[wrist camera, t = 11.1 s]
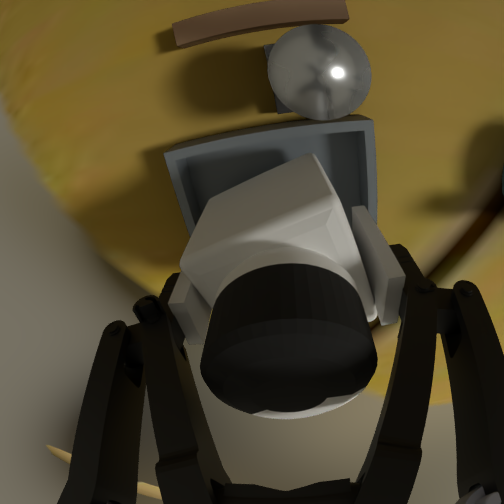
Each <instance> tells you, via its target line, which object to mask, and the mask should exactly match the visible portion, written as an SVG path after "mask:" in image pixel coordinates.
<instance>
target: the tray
mask: <svg viewBox="0 0 504 504" xmlns="http://www.w3.org/2000/svg"><path fill="white" fill-rule="evenodd" d="M307 153H313V154H315V156H316V157H317V159H318V161H319V162H320V164H321V166H322V168H323V169H324V171H325V173H326V175H327V177H328V179H329V180H330V182H331V184H332V186H333V188H334V190H335V192H336V194H337V196H338V197H339V199H340V202H341V204H342V207H343V209H344V212H345V215H346V217H347V220H348V223H349V225H350V228H351V231H352V234H353V227H352V207H354V206H363V205H364V206H365V207H366V209H367V211H368V212H369V214H370V215H371V217H372V218H373V220H374V222H375V223H376V225H377V170H376V150H375V136H374V124H373V120H372V119H370V118H367V117H365V116H363V115H348V116H344V117H341V118H338V119H333V120H314V119H306V120H298V121H290V122H283V123H276V124H270V125H264V126H258V127H252V128H247V129H241V130H236V131H231V132H226V133H221V134H217V135H212V136H208V137H203V138H199V139H195V140H191V141H187V142H183V143H179V144H176V145H174V146H173V147H172V148H170V149H169V150H167V151H166V152H165V153H163V154H164V157H165V160H166V164H167V167H168V170H169V174H170V177H171V180H172V183H173V187H174V190H175V193H176V196H177V199H178V202H179V205H180V208H181V212H182V215H183V218H184V221H185V224H186V227H187V230H188V232H189V235H190V238H191V235H192V233H193V231H194V229H195V227H196V225H197V223H198V221H199V219H200V217H201V215H202V213H203V211H204V209H205V207H206V205H207V203H208V201H209V199H210V198H212V197H214V196H216V195H218V194H220V193H222V192H224V191H226V190H228V189H230V188H232V187H234V186H237V185H239V184H241V183H243V182H245V181H247V180H249V179H251V178H253V177H255V176H258V175H260V174H262V173H264V172H266V171H268V170H271V169H273V168H275V167H277V166H280V165H282V164H284V163H286V162H289V161H291V160H293V159H295V158H298V157H300V156H302V155H305V154H307Z"/></svg>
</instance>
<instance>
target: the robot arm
mask: <svg viewBox="0 0 504 504" xmlns="http://www.w3.org/2000/svg"><path fill="white" fill-rule="evenodd" d="M352 227H353V236H354V239H355V242H356V245H357V248H358V251H359V254H360V257H361V260H362V263H363V266H364V269H365V272H366V275H367V278H368V281H369V285H370V288H371V291H372V295H373V298H374V303H375V307H376V310H377V313H378V316H379V319H380V322H381V325H386V324H392V323H397V320H398V315H399V316H400V318H401V325H400V329H399V334H398V337H397V338H398V342H397V347H396V353H395V358H394V362H393V367H392V372H391V376H390V380H389V384H388V388H387V392H386V396H385V400H384V404H383V408H382V411H381V414H380V418H379V421H378V424H377V427H376V431H375V434H374V437H373V440H372V442H371V445H370V449H369V451H368V454H367V457H366V459H365V462H364V464H363V466H362V468H361V471H360V473H359V475H358V478H357V480H356V482H355V483H353V482H352V483H351V482H350V478H348V479H340V480H333V481H325V482H318V483H314V484H311V485H308V486H305V487H301V488H297V489H294V490H290V491H281V490H276V489H272V488H267V487H263V486H259V485H255V484H232V482H231V480H230V478H229V477H228V475H227V474H226V472H225V470H224V468H223V466H222V463H221V461H220V458H219V455H218V453H217V450H216V447H215V444H214V441H213V438H212V435H211V432H210V429H209V426H208V423H207V420H206V417H205V414H204V411H203V408H202V405H201V401H200V398H199V395H198V391H197V388H196V385H195V381H194V378H193V374H192V371H191V367H190V364H189V360H188V356H187V352H186V349H185V347H184V345H183V342H184V339H185V338H186V340H187V342H188V344H204V341H205V336H206V332H207V328H208V323H209V319H210V315H211V311H212V308H211V307H210V305H209V304H208V303H207V302H206V300H205V299H204V298H203V297H202V295H201V294H200V293H199V292H198V290H197V289H196V288H195V287H194V285H193V284H192V283H191V281H190V280H189V279H188V278H187V276H186V275H185V274H184V272H183V271H182V270H181V272H180V273H173V274H172V275H171V276H170V277H169V278H168V279H167V280H166V283H165V285H164V288H163V289H162V293H161V294H160V296H159V298H158V297H156V296H155V295H149V296H145V297H143V298H141V299H139V300H138V301H137V302H136V303H135V304H134V306H133V312H134V313H135V315H136V317H137V318H138V320H139V322H140V323H138V324H135V325H131V326H128V327H127V326H126V324H125V322H123V321H121V320H118V321H114V322H112V323H110V324H109V325H108V326H107V327H106V328H105V329H104V331H103V334H102V337H101V340H100V343H99V346H98V349H97V352H96V356H95V359H94V362H93V366H92V369H91V373H90V377H89V380H88V384H87V387H86V391H85V395H84V399H83V403H82V407H81V412H80V416H79V421H78V425H77V430H76V435H75V440H74V445H73V451H72V457H71V463H70V470H69V477H68V481H67V483H66V485H65V488H64V489H63V492H62V494H61V496H60V498H59V500H58V503H57V504H136V497H137V481H138V462H139V447H140V435H141V424H142V414H143V406H144V396H145V389H146V385H147V392H148V398H149V405H150V411H151V417H152V422H153V428H154V434H155V438H156V444H157V448H158V452H159V462H158V463H156V466H155V470H156V476H157V481H158V485H159V489H160V492H161V496H162V500H163V503H164V504H407V503H408V500H409V497H410V494H411V491H412V488H413V485H414V482H415V479H416V476H417V472H418V469H419V466H420V462H421V457H422V449H421V440H422V436H423V432H424V427H425V422H426V417H427V412H428V406H429V400H430V394H431V387H432V380H433V371H434V362H435V350H436V335H437V333H440V335H441V339H442V344H443V348H444V353H445V358H446V363H447V369H448V374H449V380H450V387H451V394H452V402H453V410H454V419H455V432H456V451H457V485H458V493H459V498H460V499H459V500H458V501H457V502H456V504H504V354H503V351H502V348H501V345H500V342H499V339H498V336H497V333H496V331H495V328H494V325H493V323H492V320H491V317H490V315H489V312H488V310H487V308H486V305H485V303H484V300H483V298H482V296H481V294H480V291H479V289H478V288H477V286H476V285H475V284H473V283H472V282H469V281H465V280H461V281H458V282H456V283H455V285H454V287H453V289H444V288H437V286H436V284H435V283H434V282H433V281H431V280H430V279H427V278H424V276H423V275H422V273H421V271H420V269H419V268H418V266H417V265H416V263H415V261H414V260H413V258H412V256H411V255H410V253H409V252H408V250H407V249H406V248H405V247H403V246H402V245H401V244H395V245H388V243H387V242H386V240H385V238H384V236H383V235H382V233H381V231H380V230H379V228H378V226H377V225H376V223H375V222H374V220H373V218H372V217H371V215H370V214H369V212H368V211H367V209H366V207H365V206H364V205H363V206H354V207H352Z"/></svg>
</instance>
